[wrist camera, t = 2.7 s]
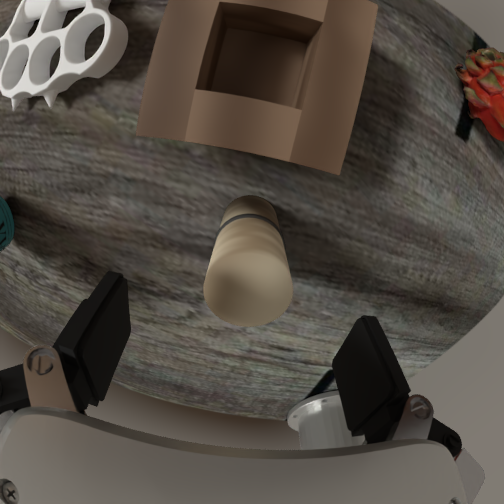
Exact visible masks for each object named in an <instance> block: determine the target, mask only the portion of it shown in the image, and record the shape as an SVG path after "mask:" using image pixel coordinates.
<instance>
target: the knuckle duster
mask: <svg viewBox="0 0 504 504" xmlns="http://www.w3.org/2000/svg"><path fill="white" fill-rule="evenodd" d="M110 2H111V0H22V1H21V3H20V5H19V7H18V9H17V11H16V13H15V16H14V19H13V21H12V24H11V26H10V27H9V29H8V30H7V32H6V33H5V35H4V36H2V37H1V38H0V90H1V92H2V95H3V96H6V97H9V98H11V99H12V106H13V112H14V110H15V109H16V108H17V106H18V105H19V104H20V102H21V101H22V100H23V98H31V97H33V96H44V98H45V100H46V101H47V103H48V105H49V107H50V108H52V106H53V104H54V101H55V99H56V97H57V95H58V93H60V92H63V91H65V90H67V89H68V88H69V87H70V86H71V85H72V84H73V83H74V82H76V81H77V80H79V79H81V78H84V77H93V78H100V77H102V76H104V75H105V74H107V73H108V72H109V71H110V70H112V69H113V68H114V67H115V65H116V64H117V63H118V62H119V60H120V59H121V57H122V56H123V54H124V52H125V49H126V46H127V42H128V30H127V27H126V25H125V24H124V23H123V22H122V21H121V20H120V19H118V18H117V17H115V16H113V15H112V14H110V13H109V10H108V7H109V4H110ZM81 7H85V9H84V10H83V12H82V13H81V14H79V15H78V16H77V17H76V18H75V19H74V20H73V21H72V22H71V23H70V24H69V25H68V26H67V27H66V28H63V29H61V28H62V25H63V22H64V20H65V17H66V14H67V12H68V10H72V9H76V8H81ZM38 19H40V21H39V24H38V26H37V29H36V31H35V32H34V34H33V35H32V36H31V37H29V38H28V32H29V30H30V29H31V28H32V26H33V24H34V21H35V20H38ZM102 24H105V35H104V39H103V42H102V44H101V46H100V48H99V49H98V51H97V52H96V53H95V54H94V55H93V56H92V57H91V58H90V59H88V60H87V61H85V56H84V54H85V43H86V40H87V38H88V36H89V35H90V33H91V32H92V31H93V30H94V29H95V28H97V27H98V26H100V25H102ZM60 46H61V50H60V60H59V64H58V67H57V69H56V71H55V73H54V74H53V76H52V77H51V78H50V61H51V58H52V56H53V54H54V53H55V51H56V50H57V49H58V48H59V47H60ZM27 59H28V62H27V65H26V67H25V70H24V72H23V75H22V71H23V69H24V66H25V64H26V61H27ZM21 76H22V77H21Z"/></svg>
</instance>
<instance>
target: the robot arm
mask: <svg viewBox="0 0 504 504" xmlns="http://www.w3.org/2000/svg"><path fill="white" fill-rule="evenodd" d="M130 332H131V324H130V314H129V302H128V287H127V279H125V278H123V274H120V273H116V272H112V271H108V272H107V273H106V275H105V276H104V277H103V279H102V280H101V281H100V283H99V284H98V285H97V287H96V288H95V290H94V291H93V292H92V294H91V295H90V297H89V298H88V299H85V300H83V301H82V302H81V304H80V305H79V307H78V308H77V310H76V311H75V313H74V314H73V315H72V317H71V318H70V320H69V321H68V323H67V325H66V326H65V328H64V329H63V331H62V332H61V334H60V335H59V337H58V339H57V340H56V342H55V343H54V345H53V347H50V346H48V345H37V346H34V347H32V348H31V349H29V350H28V351H27V353H26V354H25V356H24V359H23V364H20V365H17V366H14V367H11V368H7V369H4V370H1V371H0V504H472V502H473V500H474V499H475V497H476V495H477V494H478V492H479V490H480V488H481V486H482V484H483V483H484V479H485V474H484V470H483V469H482V467H481V466H480V465H479V464H478V463H477V462H476V461H475V460H474V458H473V457H472V456H471V455H470V454H469V453H468V452H467V451H466V449H465V448H463V449H461V448H462V442H461V439H460V436H459V435H458V434H457V433H456V432H455V431H454V430H452V429H450V428H449V427H447V426H445V425H444V424H443V423H441V422H439V421H438V420H436V419H435V418H433V414H434V410H433V407H432V404H431V403H430V401H429V400H428V399H427V398H425V397H424V396H422V395H418V394H415V395H412V396H410V397H409V395H408V393H409V392H410V391H411V390H410V388H409V385H408V383H407V381H406V379H405V376H404V374H403V372H402V370H401V367H400V365H399V363H398V361H397V359H396V356H395V354H394V352H393V350H392V348H391V346H390V344H389V342H388V340H387V338H386V335H385V333H384V331H383V329H382V327H381V325H380V323H379V321H378V319H377V318H376V317H374V316H366V315H364V316H362V317H361V318H359V319H357V321H356V322H355V324H354V326H353V328H352V329H351V331H350V333H349V334H348V336H347V338H346V339H345V341H344V343H343V344H342V346H341V348H340V349H339V351H338V353H337V354H336V356H335V357H334V359H333V362H332V368H333V372H334V375H335V379H336V383H337V387H338V390H337V391H330V392H325V393H321V394H318V395H315V396H312V397H309V398H307V399H305V400H303V401H301V402H300V403H298V404H297V405H295V406H294V407H293V408H292V409H291V410H290V411H289V413H288V416H287V418H288V425H289V426H290V427H291V428H293V429H294V430H296V431H299V435H300V445H301V450H260V449H243V448H231V447H222V446H213V445H205V444H198V443H192V442H186V441H181V440H176V439H171V438H166V437H161V436H157V435H153V434H149V433H145V432H141V431H137V430H133V429H129V428H125V427H122V426H118V425H115V424H112V423H109V422H105V421H103V420H99V419H96V418H93V417H90V416H87V414H86V412H85V409H87V407H88V404H91V405H94V406H96V407H97V406H98V403H99V400H100V401H103V400H104V398H105V395H106V393H107V390H108V388H109V385H110V382H111V380H112V377H113V375H114V372H115V370H116V367H117V365H118V362H119V360H120V357H121V355H122V353H123V350H124V348H125V345H126V343H127V341H128V338H129V336H130Z"/></svg>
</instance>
